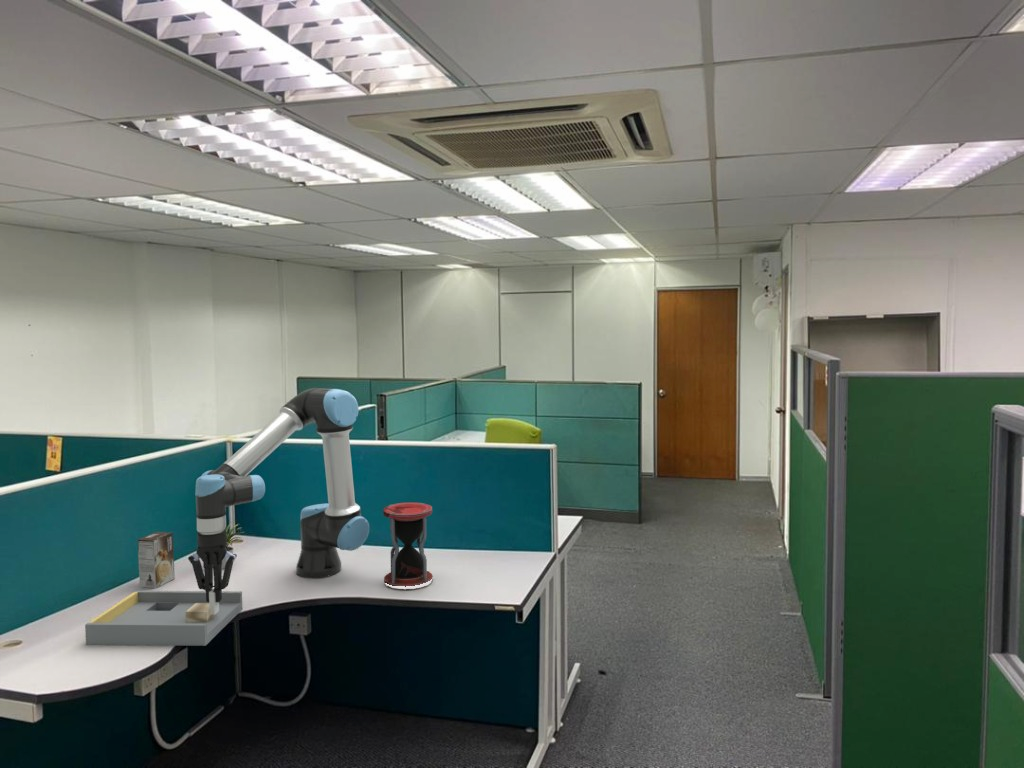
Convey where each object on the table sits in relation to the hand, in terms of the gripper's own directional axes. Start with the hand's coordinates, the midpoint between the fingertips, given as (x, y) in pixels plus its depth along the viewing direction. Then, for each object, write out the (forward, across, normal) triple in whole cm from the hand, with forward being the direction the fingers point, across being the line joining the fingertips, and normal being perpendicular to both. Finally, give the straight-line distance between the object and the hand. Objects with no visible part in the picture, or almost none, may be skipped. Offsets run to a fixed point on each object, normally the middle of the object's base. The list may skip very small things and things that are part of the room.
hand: (214, 612), depth 193 cm
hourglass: (+4, -49, -36) cm, 61 cm away
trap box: (+4, +13, 0) cm, 14 cm away
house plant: (+4, +19, -48) cm, 52 cm away
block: (+2, +4, 0) cm, 4 cm away
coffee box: (+4, +34, -33) cm, 48 cm away
